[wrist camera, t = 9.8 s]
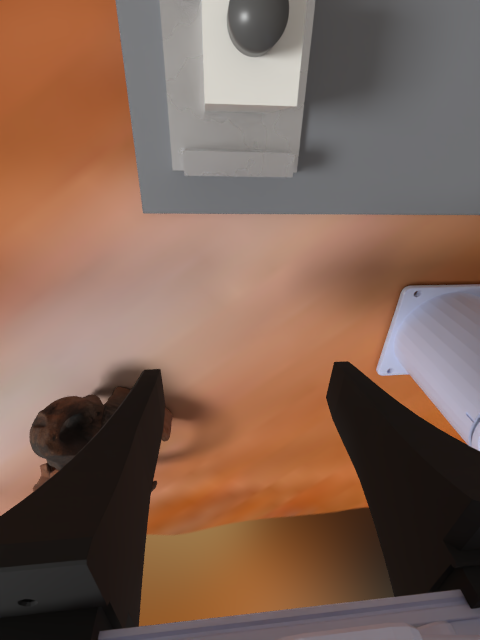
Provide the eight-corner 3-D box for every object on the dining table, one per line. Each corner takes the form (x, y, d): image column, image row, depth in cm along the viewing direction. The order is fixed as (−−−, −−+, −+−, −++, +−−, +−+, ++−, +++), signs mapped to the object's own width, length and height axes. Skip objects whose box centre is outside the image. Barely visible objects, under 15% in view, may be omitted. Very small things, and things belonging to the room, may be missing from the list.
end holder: (316, -33, 13) (337, -63, 11) (294, 171, 17) (307, 177, 15) (156, -46, 12) (147, -80, 10) (173, 169, 16) (168, 175, 14)
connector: (274, -4, 13) (326, -103, 7) (268, 113, 15) (305, 103, 9) (201, -8, 13) (198, -114, 7) (204, 111, 15) (204, 101, 9)
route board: (620, -70, 14) (648, -83, 13) (498, 211, 20) (511, 215, 19) (104, -123, 12) (97, -142, 11) (146, 209, 18) (143, 213, 17)
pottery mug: (198, 427, 29) (164, 532, 24) (122, 415, 33) (80, 504, 28) (114, 359, 20) (37, 502, 16) (25, 355, 24) (-57, 468, 20)
